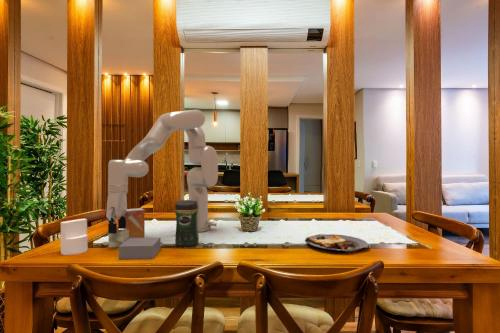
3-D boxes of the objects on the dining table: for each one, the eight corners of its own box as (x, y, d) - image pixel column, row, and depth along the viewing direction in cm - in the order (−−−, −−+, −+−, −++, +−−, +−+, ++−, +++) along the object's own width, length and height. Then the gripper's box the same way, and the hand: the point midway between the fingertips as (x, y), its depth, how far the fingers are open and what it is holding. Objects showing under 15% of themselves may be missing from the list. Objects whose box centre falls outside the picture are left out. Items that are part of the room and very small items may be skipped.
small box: (126, 240, 135) (125, 211, 134) (123, 237, 140) (123, 209, 140) (145, 238, 139) (144, 209, 139) (141, 235, 144) (141, 207, 144)
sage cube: (128, 243, 131) (128, 229, 130) (123, 247, 125) (123, 232, 124) (114, 243, 130) (114, 229, 130) (108, 247, 124) (108, 233, 124)
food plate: (331, 257, 111) (332, 248, 111) (294, 243, 131) (294, 234, 131) (379, 250, 122) (379, 241, 122) (337, 237, 143) (338, 230, 143)
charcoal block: (160, 249, 122) (160, 237, 122) (152, 259, 110) (152, 245, 110) (130, 250, 121) (129, 237, 121) (118, 260, 109) (118, 246, 109)
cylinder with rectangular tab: (68, 256, 113) (68, 224, 113) (56, 252, 118) (55, 221, 117) (92, 250, 121) (91, 220, 120) (79, 246, 125) (79, 217, 125)
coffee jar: (199, 241, 133) (199, 199, 133) (196, 246, 125) (196, 201, 125) (177, 241, 133) (177, 199, 133) (173, 246, 125) (172, 201, 125)
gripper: (117, 187, 135) (116, 226, 135) (99, 191, 118) (98, 235, 118) (134, 188, 136) (133, 226, 136) (118, 191, 118) (118, 235, 118)
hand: (117, 230), depth 127 cm, fingers open, 9 cm apart
